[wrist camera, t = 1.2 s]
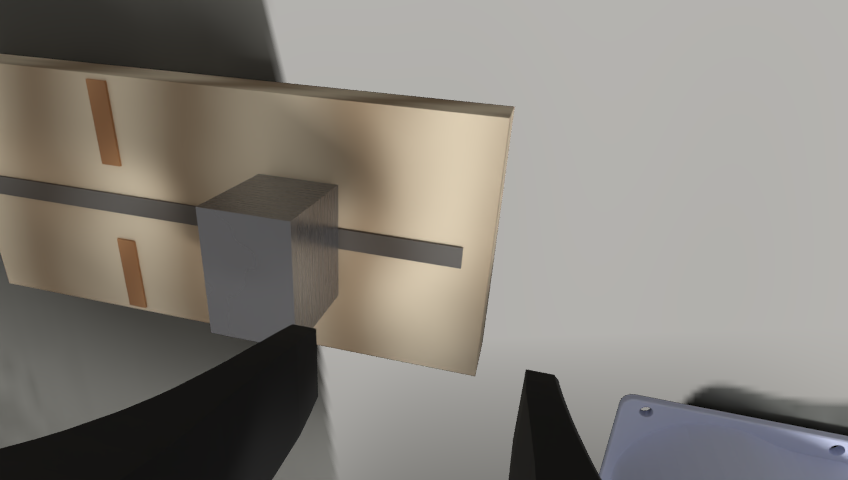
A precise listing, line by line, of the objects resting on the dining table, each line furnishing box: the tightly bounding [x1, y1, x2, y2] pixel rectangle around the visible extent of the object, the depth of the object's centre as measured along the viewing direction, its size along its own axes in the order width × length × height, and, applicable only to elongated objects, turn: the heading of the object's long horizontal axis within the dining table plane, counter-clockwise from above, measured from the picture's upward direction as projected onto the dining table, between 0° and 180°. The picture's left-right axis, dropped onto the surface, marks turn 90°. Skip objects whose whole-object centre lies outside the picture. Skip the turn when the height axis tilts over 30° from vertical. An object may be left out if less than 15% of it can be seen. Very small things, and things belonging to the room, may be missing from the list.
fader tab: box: [195, 174, 338, 342], centre depth 17 cm, size 3×4×4 cm
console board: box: [0, 54, 514, 376], centre depth 21 cm, size 22×10×2 cm, turn 86°
